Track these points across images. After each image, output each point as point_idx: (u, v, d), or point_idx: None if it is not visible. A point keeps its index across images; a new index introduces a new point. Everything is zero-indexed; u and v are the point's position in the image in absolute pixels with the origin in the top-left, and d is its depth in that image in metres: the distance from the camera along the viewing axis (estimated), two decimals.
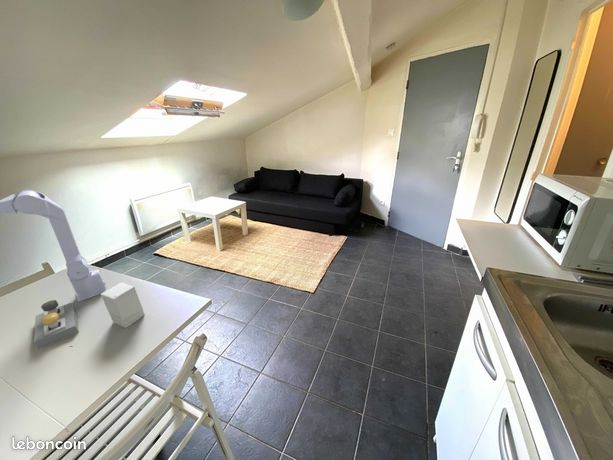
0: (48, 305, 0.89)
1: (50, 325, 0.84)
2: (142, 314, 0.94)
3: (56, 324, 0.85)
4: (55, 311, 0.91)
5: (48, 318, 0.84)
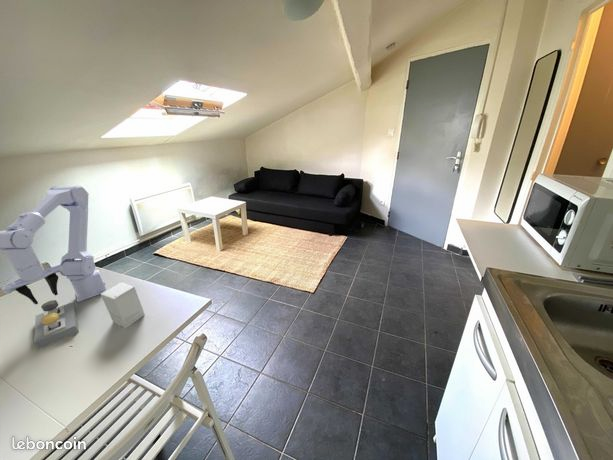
0: (48, 305, 0.89)
1: (50, 325, 0.84)
2: (142, 314, 0.94)
3: (56, 324, 0.85)
4: (55, 311, 0.91)
5: (48, 318, 0.84)
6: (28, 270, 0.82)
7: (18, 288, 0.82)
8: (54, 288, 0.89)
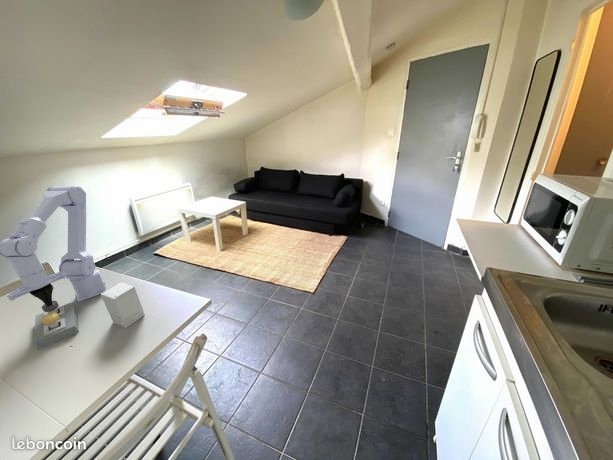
0: None
1: (50, 325, 0.84)
2: (142, 314, 0.94)
3: (56, 324, 0.85)
4: (55, 312, 0.91)
5: (48, 318, 0.84)
6: (32, 277, 0.83)
7: (32, 291, 0.85)
8: (49, 298, 0.89)
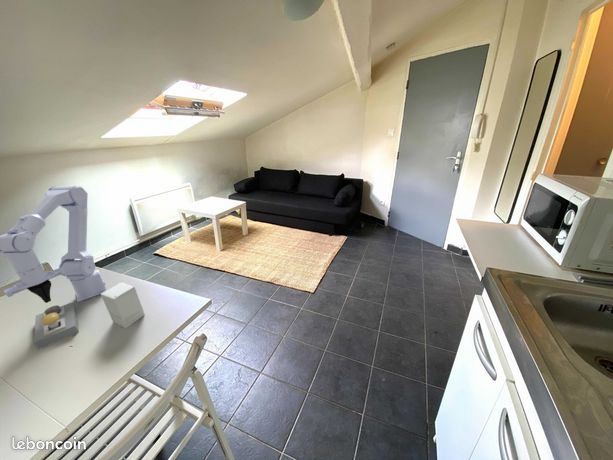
0: (51, 310, 0.90)
1: (50, 325, 0.84)
2: (142, 314, 0.94)
3: (56, 324, 0.85)
4: None
5: (48, 318, 0.84)
6: (30, 273, 0.82)
7: (29, 287, 0.84)
8: (47, 294, 0.88)
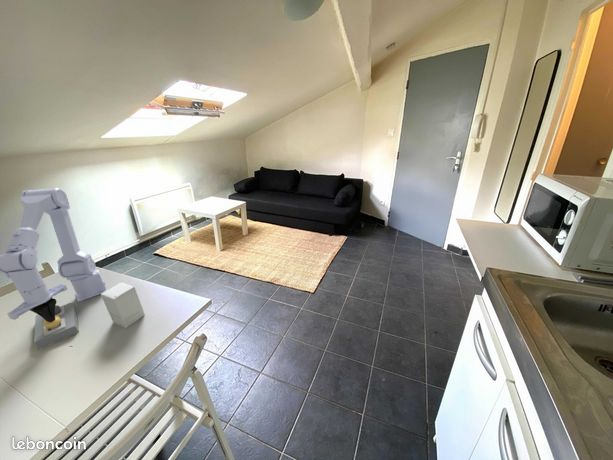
0: None
1: (52, 328, 0.85)
2: (142, 314, 0.94)
3: None
4: None
5: (50, 322, 0.84)
6: (36, 291, 0.78)
7: (34, 307, 0.80)
8: (52, 313, 0.84)
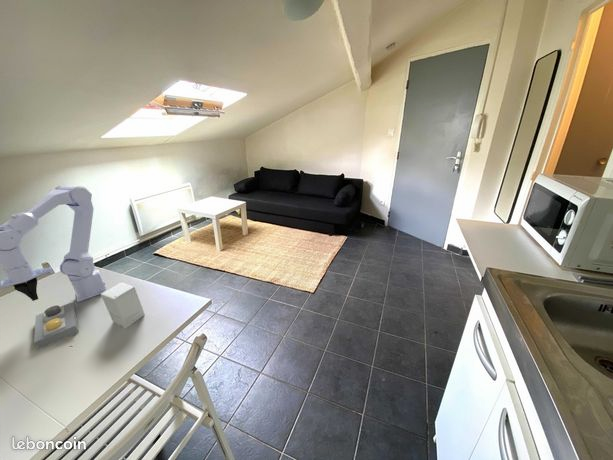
0: (51, 310, 0.90)
1: None
2: (142, 314, 0.94)
3: None
4: None
5: (51, 324, 0.85)
6: (13, 271, 0.81)
7: (15, 284, 0.84)
8: (33, 293, 0.87)
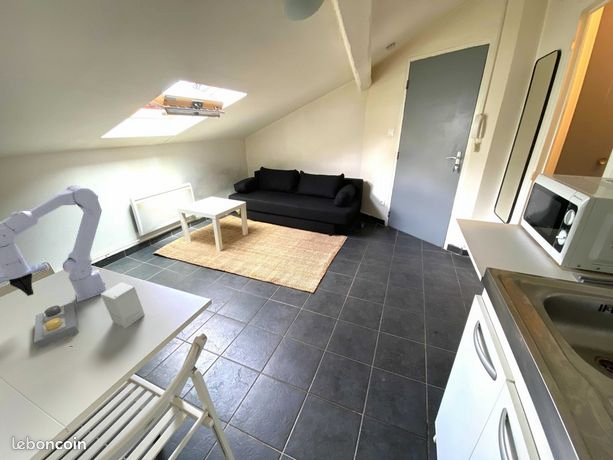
0: (51, 310, 0.90)
1: None
2: (142, 314, 0.94)
3: None
4: None
5: (51, 324, 0.85)
6: (8, 267, 0.84)
7: (11, 279, 0.86)
8: (28, 288, 0.89)
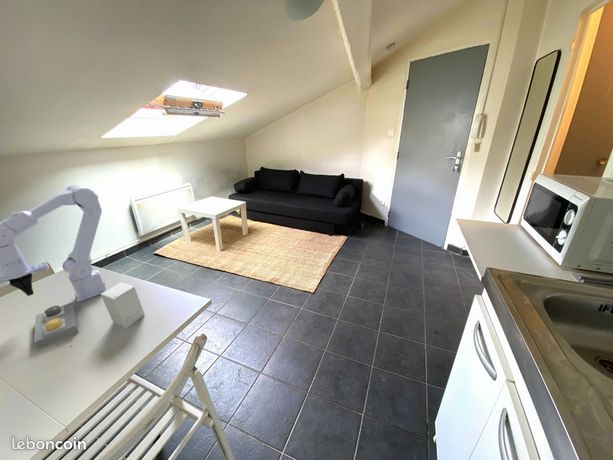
0: (51, 310, 0.90)
1: None
2: (142, 314, 0.94)
3: None
4: None
5: (51, 324, 0.85)
6: (8, 267, 0.84)
7: (11, 279, 0.86)
8: (28, 288, 0.89)
